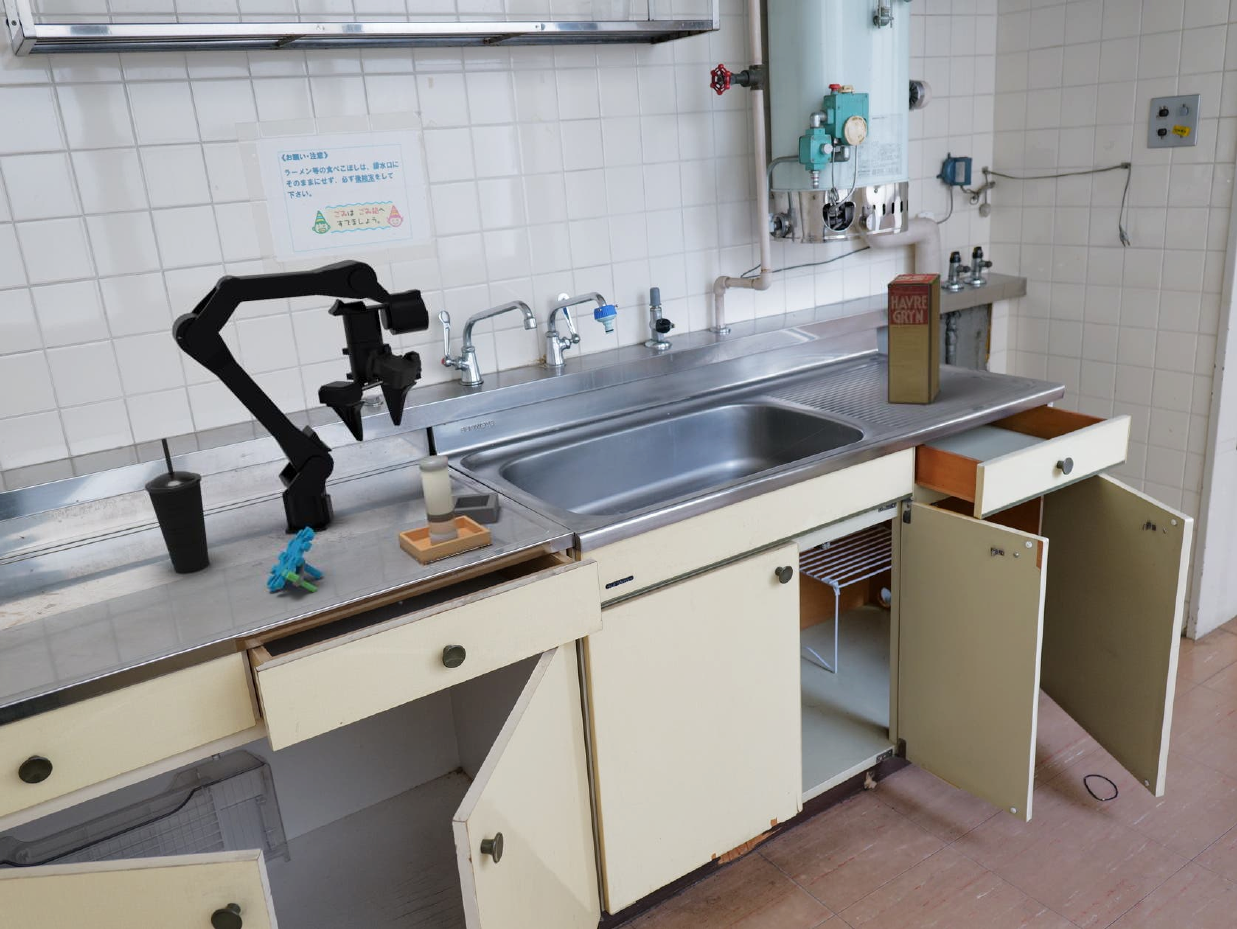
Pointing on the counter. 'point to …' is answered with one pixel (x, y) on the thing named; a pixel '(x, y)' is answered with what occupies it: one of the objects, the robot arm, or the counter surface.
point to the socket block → (477, 507)
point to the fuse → (438, 499)
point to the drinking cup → (180, 516)
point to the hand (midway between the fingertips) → (379, 433)
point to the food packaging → (913, 338)
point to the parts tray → (422, 550)
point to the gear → (294, 563)
